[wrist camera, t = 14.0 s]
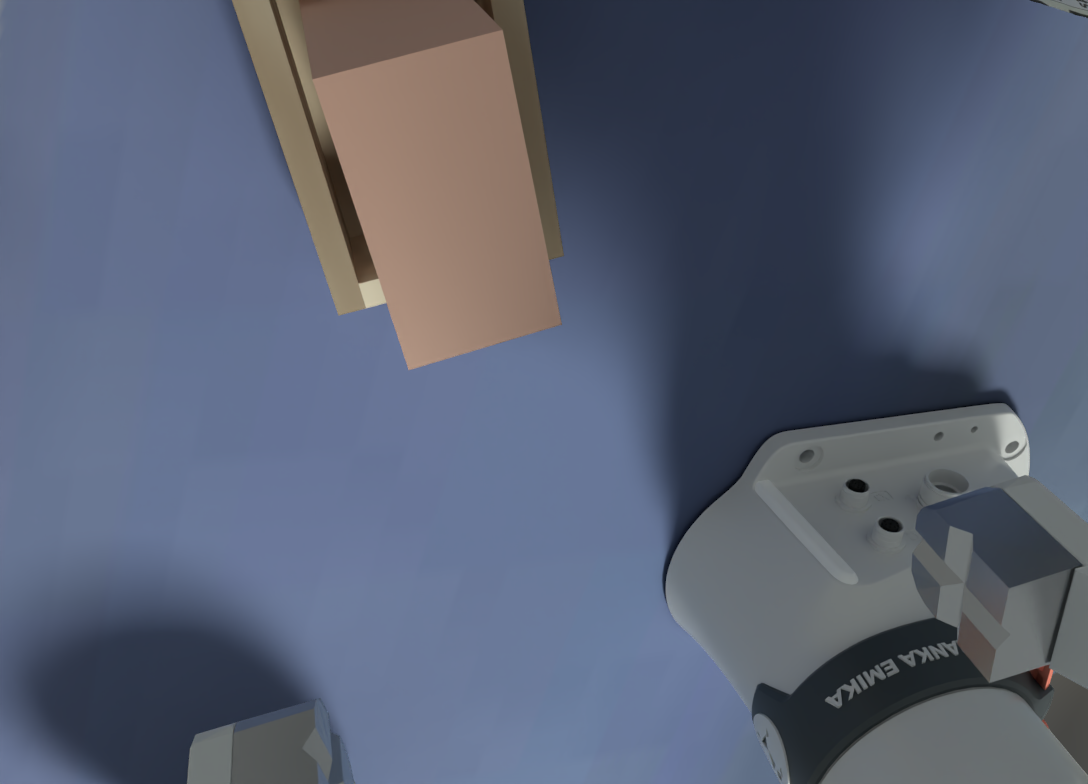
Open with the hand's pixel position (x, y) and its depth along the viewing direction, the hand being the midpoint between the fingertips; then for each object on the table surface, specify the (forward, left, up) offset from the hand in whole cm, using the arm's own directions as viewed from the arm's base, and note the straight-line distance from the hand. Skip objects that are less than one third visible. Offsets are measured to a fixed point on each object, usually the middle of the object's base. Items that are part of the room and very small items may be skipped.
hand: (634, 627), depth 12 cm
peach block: (0, 0, -26) cm, 26 cm away
